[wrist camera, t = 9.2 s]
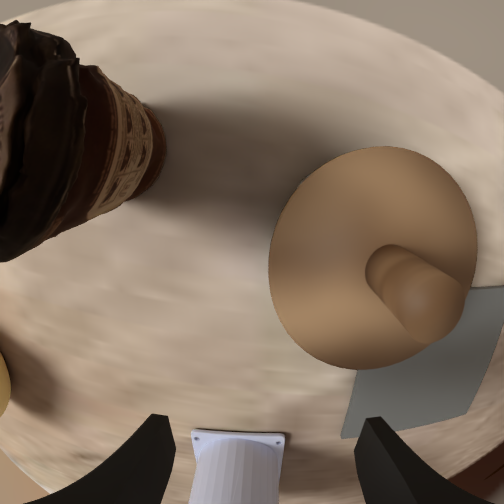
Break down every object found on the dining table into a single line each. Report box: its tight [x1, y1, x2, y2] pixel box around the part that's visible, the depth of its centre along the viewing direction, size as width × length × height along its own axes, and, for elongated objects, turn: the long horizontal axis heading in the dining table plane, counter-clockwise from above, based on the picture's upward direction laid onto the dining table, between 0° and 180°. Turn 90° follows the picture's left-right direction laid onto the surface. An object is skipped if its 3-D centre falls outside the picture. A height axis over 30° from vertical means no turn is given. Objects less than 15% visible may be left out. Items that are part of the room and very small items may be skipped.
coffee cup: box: [0, 20, 166, 262], centre depth 11 cm, size 9×8×13 cm
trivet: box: [341, 285, 504, 439], centre depth 20 cm, size 14×14×1 cm
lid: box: [268, 146, 477, 370], centre depth 12 cm, size 12×12×6 cm
